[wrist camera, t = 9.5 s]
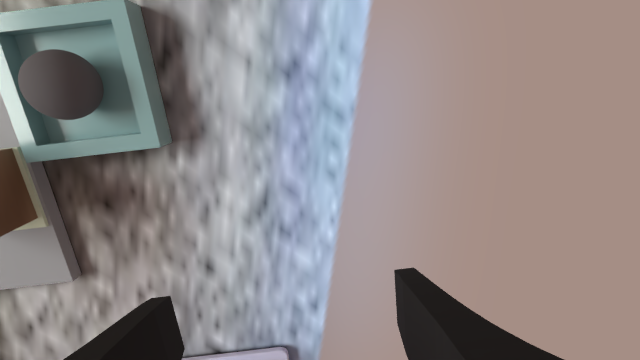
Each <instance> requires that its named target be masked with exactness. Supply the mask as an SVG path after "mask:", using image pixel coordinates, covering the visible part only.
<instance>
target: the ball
mask: <svg viewBox="0 0 640 360" xmlns="http://www.w3.org/2000/svg"><path fill="white" fill-rule="evenodd" d="M18 84H19V88H20V91H21V93H22V95H23V97H24V98H25V99H26V101H27V102H28V103H29V104H30V105H31V106H32V107H33V108H35V109H36V110H37V111H39V112H41V113H42V114H44V115H47V116H49V117H52V118H56V119H61V120H75V119H79V118H83V117H85V116H87V115H89V114H91V113H92V112H94V111H95V110H96V109H97V108H98V106H99V105H100V103H101V101H102V98H103V94H104V88H103V82H102V79H101V77H100V75H99V73H98V72H97V70H96V69H95V68H94V67H93V65H92V64H91V63H89V62H88V61H87V60H85V59H84V58H82V57H81V56H79V55H77V54H75V53H72V52H69V51H65V50H58V49H49V50H43V51H40V52H37V53H35V54H33V55H31V56H30V57H28V58H27V59H26V60H25V61H24V62H23V64H22V66H21V68H20V70H19V74H18Z"/></svg>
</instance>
